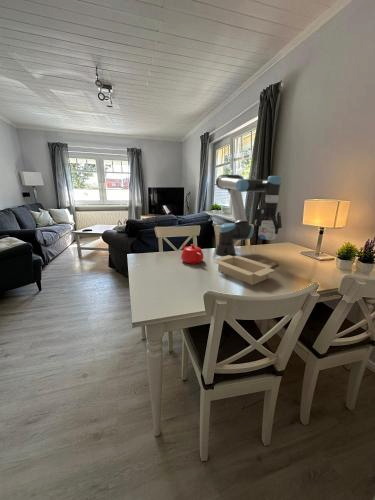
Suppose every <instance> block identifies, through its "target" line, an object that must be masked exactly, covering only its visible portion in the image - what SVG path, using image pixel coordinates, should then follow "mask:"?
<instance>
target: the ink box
mask: <svg viewBox="0 0 375 500" xmlns="http://www.w3.org/2000/svg"><path fill="white" fill-rule="evenodd" d="M274 229H275V226H274V224H273V221H272V220H268V219H267V220H266V219H265V220H263V221H262V223H261V231H260V236H259V240H267V241H274V239H272V238H273V231H274Z"/></svg>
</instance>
